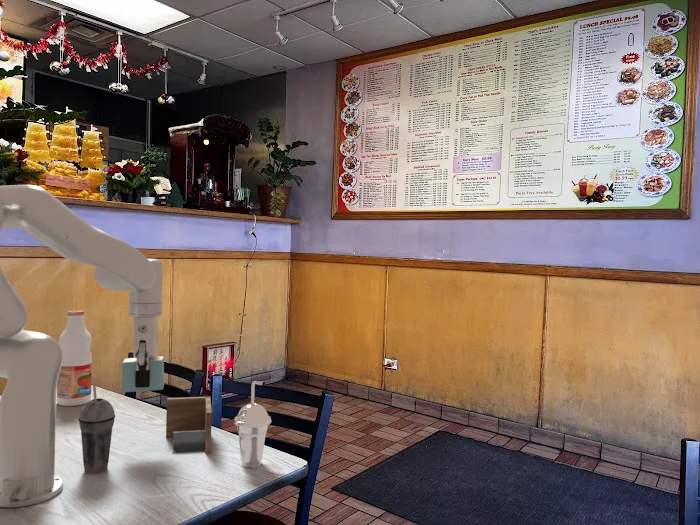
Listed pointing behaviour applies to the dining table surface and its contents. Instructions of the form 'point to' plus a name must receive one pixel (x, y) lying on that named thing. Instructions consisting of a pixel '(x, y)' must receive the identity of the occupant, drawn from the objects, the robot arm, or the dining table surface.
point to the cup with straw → (252, 431)
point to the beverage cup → (96, 433)
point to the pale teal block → (155, 374)
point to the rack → (189, 417)
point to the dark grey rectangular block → (188, 441)
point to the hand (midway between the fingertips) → (143, 383)
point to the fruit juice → (75, 362)
